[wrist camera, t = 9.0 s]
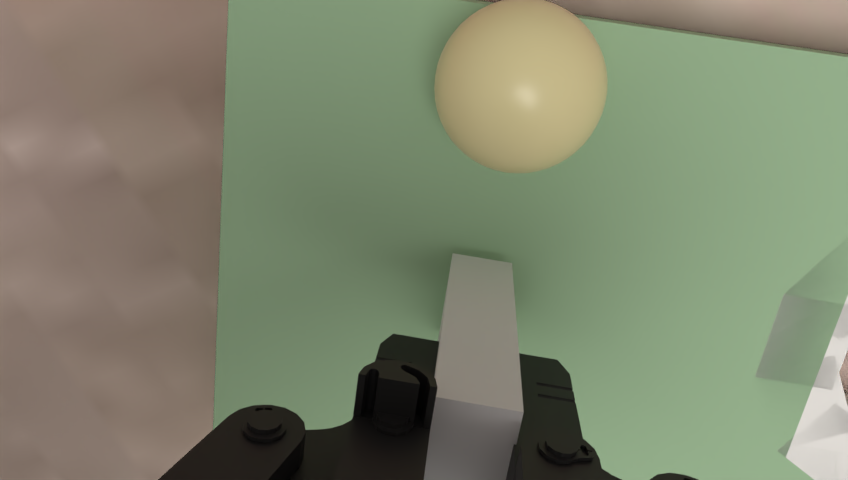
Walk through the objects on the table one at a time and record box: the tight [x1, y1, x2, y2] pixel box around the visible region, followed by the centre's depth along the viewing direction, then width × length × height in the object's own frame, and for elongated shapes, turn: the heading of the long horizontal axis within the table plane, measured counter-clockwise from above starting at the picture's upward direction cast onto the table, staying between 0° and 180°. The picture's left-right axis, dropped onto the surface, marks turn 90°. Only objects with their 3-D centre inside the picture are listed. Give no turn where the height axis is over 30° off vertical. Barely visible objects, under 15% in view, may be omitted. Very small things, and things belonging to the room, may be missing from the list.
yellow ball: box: [434, 0, 608, 174], centre depth 15 cm, size 4×4×4 cm
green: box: [213, 0, 848, 480], centre depth 18 cm, size 26×14×6 cm, turn 82°
